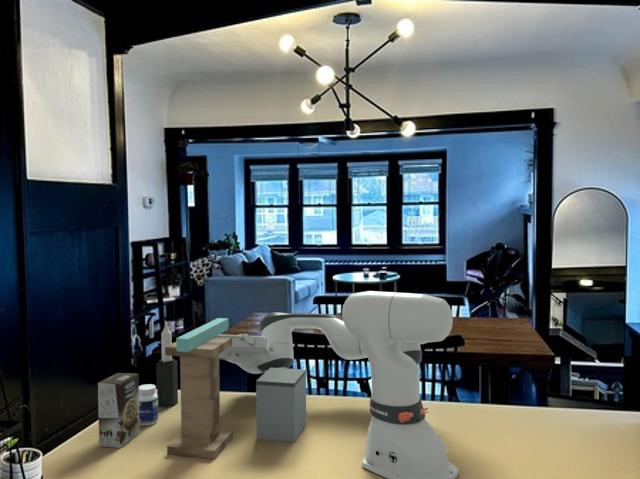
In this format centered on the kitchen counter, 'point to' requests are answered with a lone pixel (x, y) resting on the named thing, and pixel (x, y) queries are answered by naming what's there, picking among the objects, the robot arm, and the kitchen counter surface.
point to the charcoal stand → (281, 404)
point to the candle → (167, 374)
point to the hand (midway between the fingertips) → (227, 335)
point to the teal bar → (202, 334)
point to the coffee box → (118, 409)
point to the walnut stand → (200, 401)
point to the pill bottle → (148, 405)
